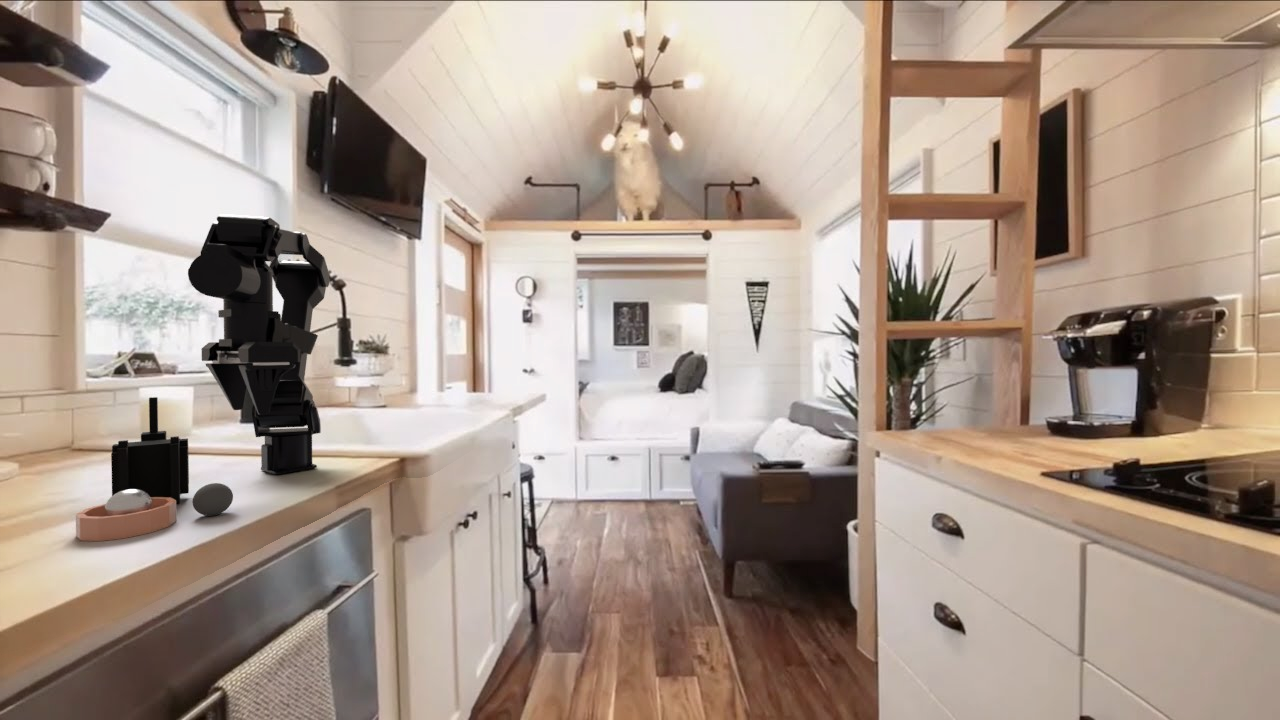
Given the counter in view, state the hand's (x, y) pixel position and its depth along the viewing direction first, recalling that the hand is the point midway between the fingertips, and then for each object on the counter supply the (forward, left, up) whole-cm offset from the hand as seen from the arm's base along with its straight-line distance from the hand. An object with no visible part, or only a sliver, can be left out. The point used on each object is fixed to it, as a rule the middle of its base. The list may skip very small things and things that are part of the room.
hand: (250, 412), depth 76 cm
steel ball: (+14, +5, -9) cm, 18 cm away
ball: (+6, +7, -10) cm, 14 cm away
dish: (+14, +5, -12) cm, 19 cm away
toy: (+11, -2, -5) cm, 12 cm away
